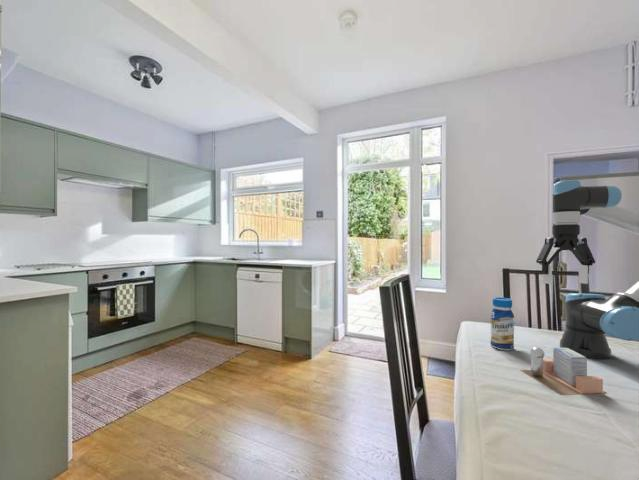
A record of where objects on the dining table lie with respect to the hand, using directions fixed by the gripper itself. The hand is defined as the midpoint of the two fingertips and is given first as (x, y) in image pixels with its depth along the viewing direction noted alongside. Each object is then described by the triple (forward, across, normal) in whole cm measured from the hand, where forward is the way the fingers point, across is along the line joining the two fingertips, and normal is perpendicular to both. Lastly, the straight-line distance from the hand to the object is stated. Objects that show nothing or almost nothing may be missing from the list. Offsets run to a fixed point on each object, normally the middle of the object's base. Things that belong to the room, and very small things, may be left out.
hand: (565, 283), depth 104 cm
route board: (+29, +16, +14) cm, 36 cm away
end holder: (+28, +13, +15) cm, 34 cm away
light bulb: (+28, +20, +11) cm, 36 cm away
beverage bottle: (+29, +12, -16) cm, 35 cm away
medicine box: (+27, +13, +15) cm, 34 cm away
